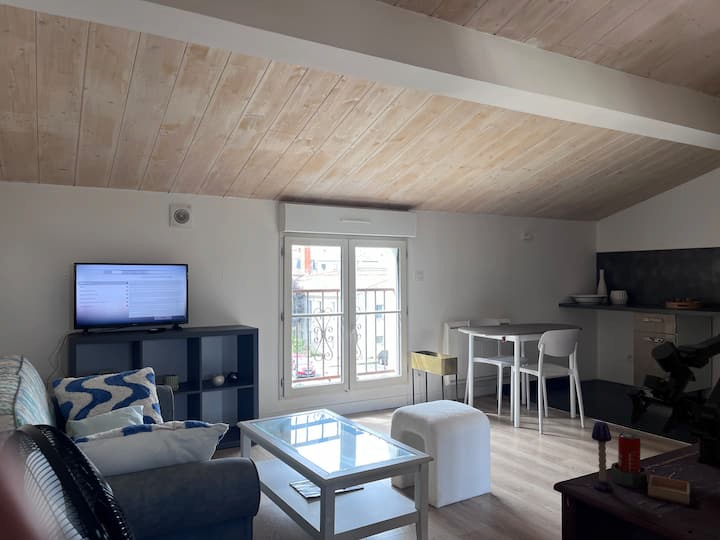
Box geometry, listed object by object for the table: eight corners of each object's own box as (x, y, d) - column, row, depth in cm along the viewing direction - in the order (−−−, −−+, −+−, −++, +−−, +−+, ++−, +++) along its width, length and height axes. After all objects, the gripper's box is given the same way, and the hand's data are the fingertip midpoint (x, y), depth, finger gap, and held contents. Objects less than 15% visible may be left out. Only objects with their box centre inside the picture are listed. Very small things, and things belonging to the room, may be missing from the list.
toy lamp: (604, 494, 135) (604, 426, 135) (587, 487, 139) (587, 422, 139) (615, 489, 138) (615, 423, 138) (598, 483, 142) (599, 419, 142)
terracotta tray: (650, 484, 141) (650, 474, 141) (689, 491, 137) (689, 481, 137) (647, 496, 134) (647, 486, 134) (689, 504, 129) (689, 494, 129)
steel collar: (613, 472, 149) (613, 460, 149) (648, 479, 145) (648, 465, 145) (609, 483, 142) (609, 469, 142) (646, 490, 138) (646, 476, 138)
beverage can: (633, 486, 140) (634, 439, 140) (614, 480, 144) (614, 434, 144) (644, 482, 143) (644, 436, 143) (624, 476, 147) (624, 431, 147)
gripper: (630, 358, 157) (603, 401, 152) (695, 369, 140) (667, 418, 135) (648, 383, 161) (622, 426, 156) (713, 397, 144) (686, 445, 139)
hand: (647, 428), depth 146 cm, fingers open, 9 cm apart
